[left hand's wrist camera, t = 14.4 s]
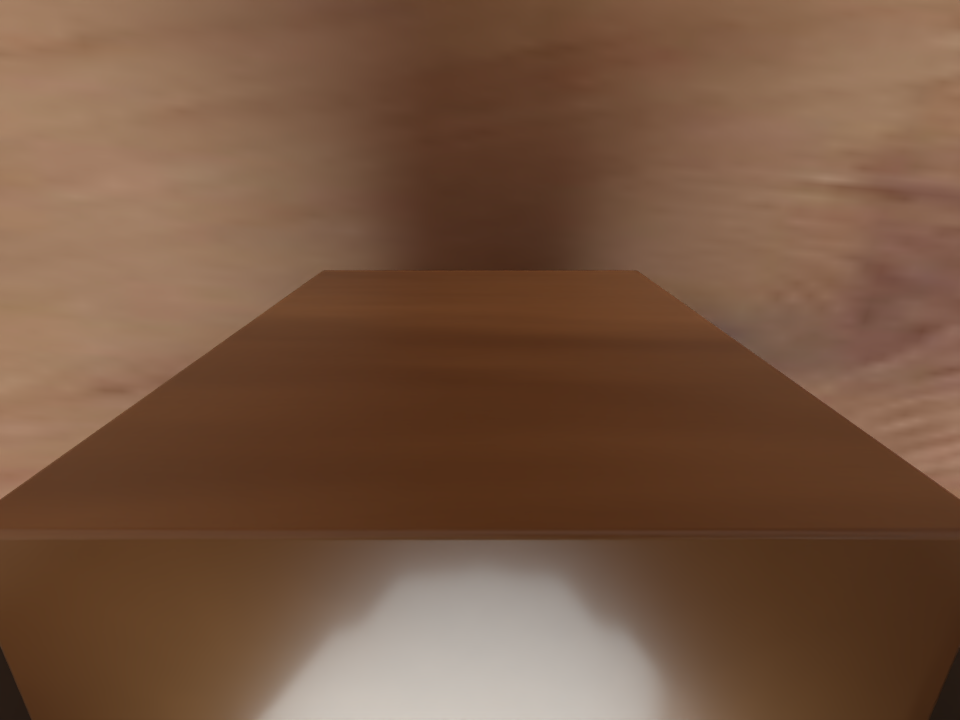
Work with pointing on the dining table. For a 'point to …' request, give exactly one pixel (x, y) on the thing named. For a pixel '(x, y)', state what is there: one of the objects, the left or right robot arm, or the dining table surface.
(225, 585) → the box
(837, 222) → the dining table surface
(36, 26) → the dining table surface
